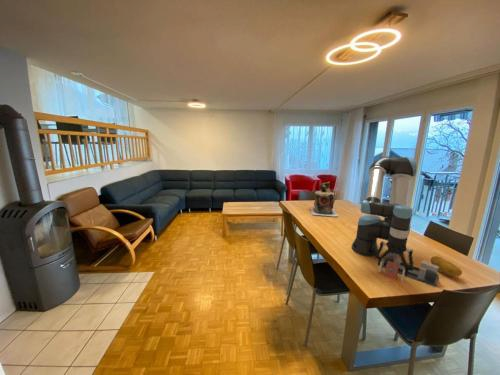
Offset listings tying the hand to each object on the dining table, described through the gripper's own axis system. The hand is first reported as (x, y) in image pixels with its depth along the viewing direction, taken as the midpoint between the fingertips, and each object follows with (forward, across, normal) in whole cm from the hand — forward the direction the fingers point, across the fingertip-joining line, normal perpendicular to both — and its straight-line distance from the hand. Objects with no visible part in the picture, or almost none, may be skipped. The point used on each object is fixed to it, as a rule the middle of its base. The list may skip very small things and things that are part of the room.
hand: (390, 275), depth 108 cm
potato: (+1, +20, +25) cm, 32 cm away
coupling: (0, 0, 0) cm, 0 cm away
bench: (0, +6, +12) cm, 13 cm away
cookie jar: (+1, -71, +74) cm, 103 cm away
